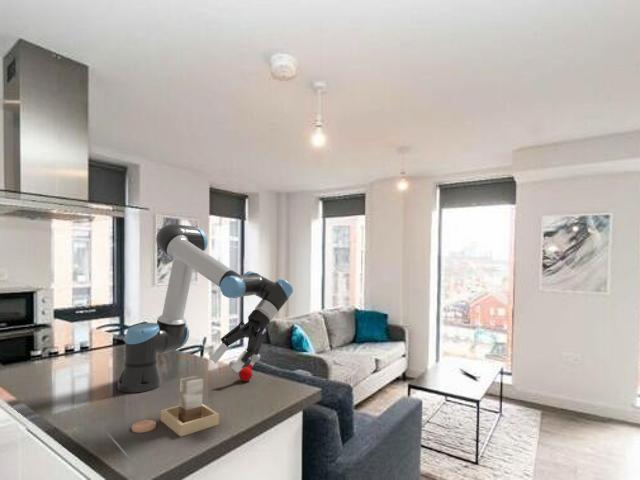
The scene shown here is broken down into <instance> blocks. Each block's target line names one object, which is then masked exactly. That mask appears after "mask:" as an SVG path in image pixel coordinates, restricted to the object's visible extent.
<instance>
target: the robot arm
mask: <svg viewBox="0 0 640 480" xmlns="http://www.w3.org/2000/svg"><path fill="white" fill-rule="evenodd" d="M155 239H156V240H155V241H156V245H157V246H158V248H159V250H161V252H163V253H164V254H166V255H167V256H168V257H169V258H171V259H172V265H171V268H170V274H169V280H168V284H167V289H166V295H165V298H164V304H163V310H162V313H161V315H160V316H158V317H157V319H156V323H155V322H145V323H140V324H135V325H132V326H131V327H128V329H127V330H126V334H125V338H124V339H125V340H124V342H125V343H124V360H123V361H124V363H123V364H124V365H123V369H122V371H121V373H120V376H119V378H118V382H117V390H118V391H120V392H123V393H143V392H147V391H148V392H149V391H151V390H155V389H156V388H158V387H160V386H161V383H162V378H161V374H160V371H159V368H158V355H162V354H165V353H169V352H175V351H176V350H178V349H181V348H183V347H184V346H185V345H186V344H187V342H188V341H189V338H190V329H189V326H188V325H187V320H186V318H185V317H184V316H185V310H186V306H187V302H188V301H187V300H188V295H189V291H190V286H191V285H190V284H191V282H192V281H191V280H192V276H193V270H194V271H195V272H196V273H198V274H200V275H201V276H202V277H204V278H206V279H207V280H208V281H210V282H211V283H213V284H214V285H216V286H217V287H219V288H220V289H219V291H220V292H221V294H222V295H223V296H224V297H226V298H229V299H236V298H237V299H238V298H241V297H242V298H243V297H251V296H256V297H258V298H260V299H261V300H260V301H259V302H258V303H257V305H256V306H255V308H254V309H253V310H252V312H250V314H249V315H248V316H247V319H248V320H247V322H246V323H244V322H243V321H240V322H239V323H238V324H237V326H235V327H234V328H233V329H231V330H230V331H229V332H228V333H226V334H224V336H222V337H221V338H220V341H221V344H220V345H219V346H218V348H216V350H215V351H214V353H213V354H212V355H211V356H210V360H211V361H212V362H213V363H214V364H217V363H218V362H219V361H220V359H221V358H222V357H223V355H224V354H225V352H226V351H227V350H228V349H229V348H230V347H229V346H231V345H232V344H234V343H236V342H237V341H239V340H241V339H245V338H247V339H248V340H247V345H246V348H245V349H244V350H243V352H242V353H241V354H240V356H239V357H238V358H237V359H236V362H235V363H234V365H233V366H232V368H233V369H234V372H235V373H237V374H239V371H240V369H241V368H244V367H243V366H244V365H245V364H246V363H247V362H248V361H249V360H250V358H252V355H254V354H255V355H258V354H259V353H260V351H261V347H262V344H263V341H264V338H265V336H266V335H267V333H268V330H266V329H267V328H268V326H269V325H270V324H271V321H273V319H274V318H275V317H276V315H277V314H278V313H279V311H280V310H281V309H282V308H283V306H284V305H285V304H286V302H287V301H288V300H289V298H290V297H291V295H292V294H293V292H294V289H293V286H292V284H291V283H290V282H289V281H288V280H286V279H284V278H283V279H282V278H280V279H277V280H276V281H272V280H270V279H268V278H266V277H264V276H263V275H260V274H259V273H257V272H254V271H251V270H247V272H245V273H244V274H243V275H241V274H239V273H238V272H237V271H234V270H233V269H232V268H231V267H228V266H227V265H225V264H224V263H223V262H220V260H218V259H216V258H215V257H213V256H211V255H210V254H209V253H207V252H206V249H208V243H209V242H208V237H207V235H206V233H205V231H204V230H203V229H202V228H199V227H197V226H193V225H183V224H176V223H169V224H165V225H164V226H162V227H161V228H159V230H158V231H157V234H156V238H155Z"/></svg>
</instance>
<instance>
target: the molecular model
mask: <svg viewBox="0 0 640 480" xmlns="http://www.w3.org/2000/svg"><path fill="white" fill-rule="evenodd" d="M260 359H261V354H259V353H258V355H255V354H254V355H252V356H251V361H250V362H249V364H248V365H247V366H244V367H242V368H241V369H240V371H239V372H238V378H239V379H240V381H243V382H248V381H250V380H251V379H252V376H253V371H252V369H253V367H254V365H255V364H256V363H257V362H259V361H260ZM236 361H237V359H236V360H234V359H233V360H230V361H229V363H228V368H229V369H230V370H234V369H233V368H232V366H233V365H234V363H235V362H236ZM234 371H235V370H234Z"/></svg>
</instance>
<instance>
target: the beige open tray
mask: <svg viewBox="0 0 640 480" xmlns="http://www.w3.org/2000/svg"><path fill="white" fill-rule="evenodd" d="M160 410H161V411H160V422H161V423H163V424H164V425H166V426H167V427H168V428H169V429H170V430H172V431H173V432H174V433H176V435H178V436H179V437H180V438H182V437H185V436H188V435H191V434H194V433H197V432H200V431H203V430H207V429H210V428H213V427H215V426H219V424H220V413H218V412H217V411H216V410H214V409H213V408H210V407H209V406H208V405H206V404H204V403H203V402H202V415H201V418H199V419H196V420H192V421H189V422H185V423H182V422H181V421H180V420H178V415H179V405H175V406H172V407H168V408H164V409H160Z"/></svg>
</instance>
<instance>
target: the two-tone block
mask: <svg viewBox="0 0 640 480" xmlns="http://www.w3.org/2000/svg"><path fill="white" fill-rule="evenodd" d="M179 379H180V381H179V383H180V384H179V400H178V406H179V415H178V420H180V421H181V422H182V423H185V422H189V421H192V420H196V419H199V418H201V415H202V403H203V392H204V391H203V390H204V379H203V378H202V377H199V376H197V375H191V376H187V377H183V378H179Z"/></svg>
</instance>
